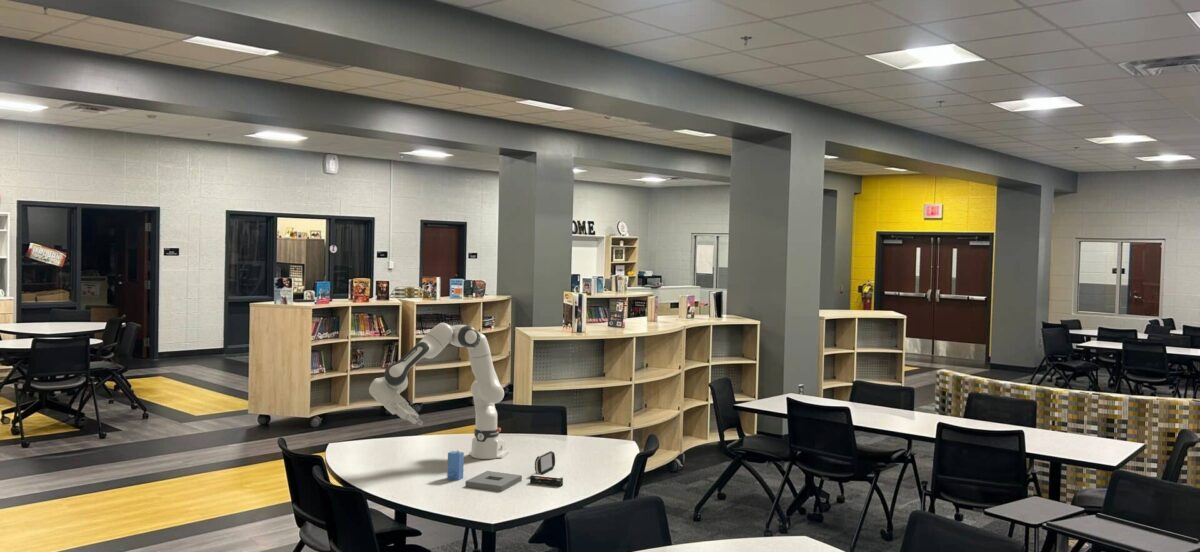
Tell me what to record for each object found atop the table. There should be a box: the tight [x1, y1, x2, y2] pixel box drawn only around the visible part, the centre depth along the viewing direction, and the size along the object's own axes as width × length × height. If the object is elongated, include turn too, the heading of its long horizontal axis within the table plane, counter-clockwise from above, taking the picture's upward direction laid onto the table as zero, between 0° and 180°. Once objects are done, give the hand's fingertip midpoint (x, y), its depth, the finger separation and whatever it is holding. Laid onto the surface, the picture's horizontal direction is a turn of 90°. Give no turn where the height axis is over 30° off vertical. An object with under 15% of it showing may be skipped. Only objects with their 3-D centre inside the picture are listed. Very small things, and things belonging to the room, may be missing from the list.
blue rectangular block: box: [446, 449, 465, 481], centre depth 381 cm, size 10×6×13 cm, turn 160°
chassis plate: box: [465, 470, 523, 493], centre depth 374 cm, size 20×18×2 cm
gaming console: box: [534, 450, 556, 475], centre depth 397 cm, size 19×9×2 cm
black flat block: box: [529, 473, 564, 488], centre depth 374 cm, size 14×25×4 cm, turn 74°
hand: (418, 423), depth 386 cm, fingers open, 8 cm apart
